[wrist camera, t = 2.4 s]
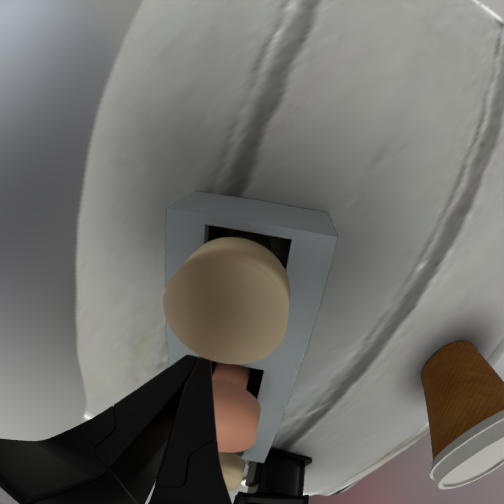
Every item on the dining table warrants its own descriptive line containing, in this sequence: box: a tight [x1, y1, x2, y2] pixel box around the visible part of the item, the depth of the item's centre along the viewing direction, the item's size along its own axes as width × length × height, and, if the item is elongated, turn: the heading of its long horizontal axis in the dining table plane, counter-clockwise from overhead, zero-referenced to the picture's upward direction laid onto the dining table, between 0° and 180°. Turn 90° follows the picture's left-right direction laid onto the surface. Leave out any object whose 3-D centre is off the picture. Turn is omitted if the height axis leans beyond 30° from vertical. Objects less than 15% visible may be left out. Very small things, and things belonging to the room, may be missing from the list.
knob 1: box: [164, 231, 290, 364], centre depth 15 cm, size 5×5×7 cm
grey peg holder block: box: [165, 191, 338, 463], centre depth 21 cm, size 9×24×5 cm, turn 173°
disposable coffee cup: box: [421, 341, 504, 489], centre depth 16 cm, size 10×10×12 cm
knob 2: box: [219, 452, 245, 491], centre depth 22 cm, size 5×5×7 cm
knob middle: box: [212, 362, 261, 453], centre depth 18 cm, size 5×5×7 cm
